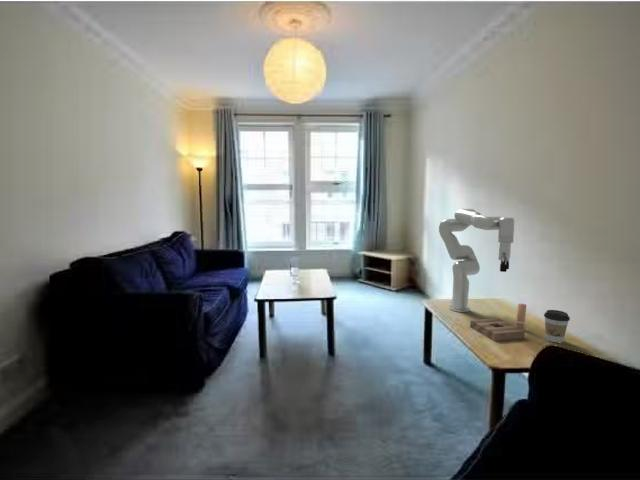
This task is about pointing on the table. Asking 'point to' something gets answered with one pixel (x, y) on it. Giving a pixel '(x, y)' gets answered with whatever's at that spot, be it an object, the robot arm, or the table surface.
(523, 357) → the table surface
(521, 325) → the peg
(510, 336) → the board
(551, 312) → the coffee cup
